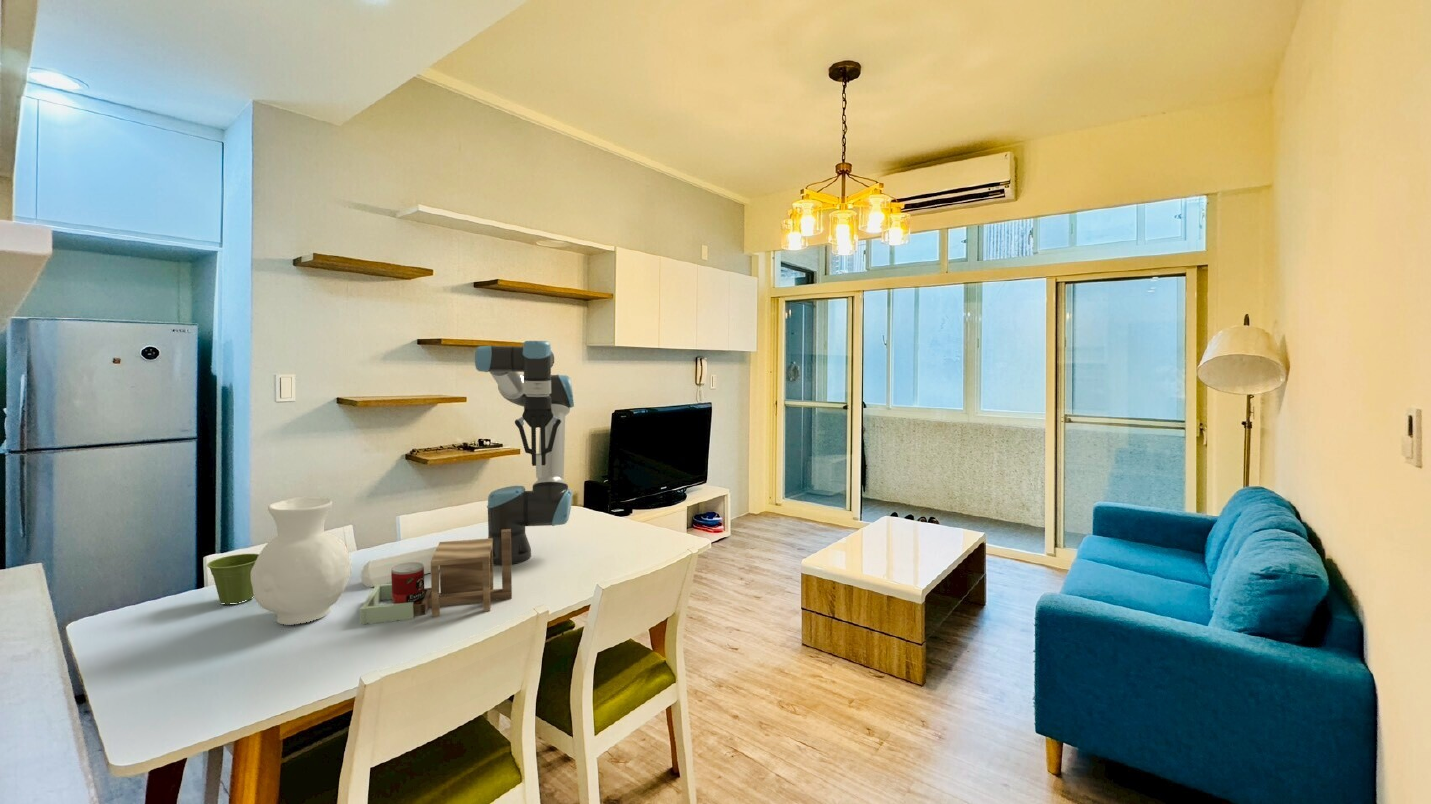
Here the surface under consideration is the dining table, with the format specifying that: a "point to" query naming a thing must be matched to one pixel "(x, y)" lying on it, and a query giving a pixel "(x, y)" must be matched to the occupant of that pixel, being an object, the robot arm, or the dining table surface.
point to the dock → (384, 607)
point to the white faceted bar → (382, 568)
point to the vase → (300, 563)
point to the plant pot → (233, 577)
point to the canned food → (408, 583)
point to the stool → (462, 569)
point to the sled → (476, 595)
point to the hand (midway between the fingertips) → (538, 476)
